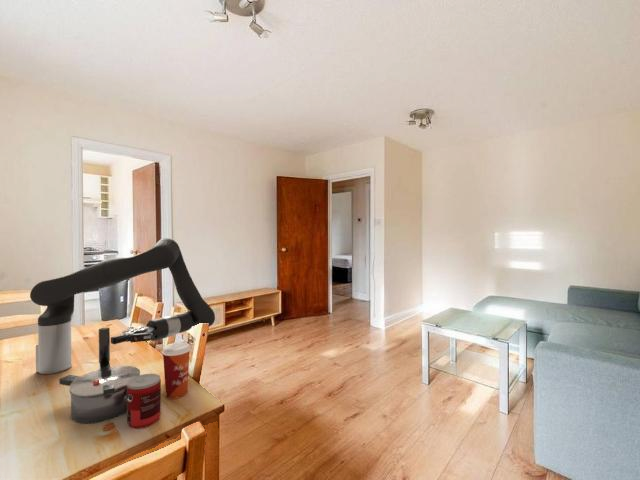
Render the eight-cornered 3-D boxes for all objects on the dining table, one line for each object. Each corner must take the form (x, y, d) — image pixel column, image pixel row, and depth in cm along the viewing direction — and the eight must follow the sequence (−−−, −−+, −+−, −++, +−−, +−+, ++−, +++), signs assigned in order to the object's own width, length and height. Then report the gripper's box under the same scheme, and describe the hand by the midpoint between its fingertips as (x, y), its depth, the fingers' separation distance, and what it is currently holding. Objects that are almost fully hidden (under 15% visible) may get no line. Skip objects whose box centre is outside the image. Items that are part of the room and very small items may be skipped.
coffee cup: (179, 402, 91) (179, 352, 91) (155, 399, 93) (155, 349, 92) (196, 388, 99) (196, 342, 99) (174, 385, 101) (174, 340, 101)
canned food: (136, 412, 86) (135, 373, 85) (165, 411, 86) (165, 372, 86) (120, 430, 78) (120, 387, 78) (153, 428, 79) (153, 386, 78)
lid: (145, 387, 85) (145, 342, 85) (67, 408, 75) (67, 357, 74) (134, 360, 103) (134, 323, 103) (70, 373, 93) (70, 332, 93)
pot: (161, 397, 93) (161, 375, 93) (114, 430, 78) (114, 403, 78) (90, 386, 100) (90, 365, 100) (34, 414, 85) (33, 389, 84)
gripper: (174, 341, 109) (121, 357, 95) (154, 334, 117) (102, 348, 102) (174, 320, 109) (121, 333, 95) (154, 314, 117) (102, 326, 102)
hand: (111, 340), depth 99 cm, fingers closed
